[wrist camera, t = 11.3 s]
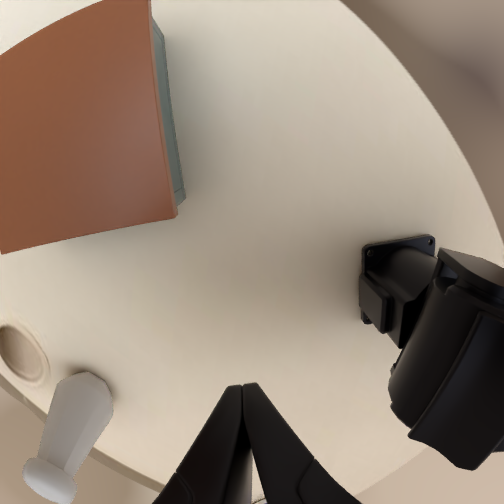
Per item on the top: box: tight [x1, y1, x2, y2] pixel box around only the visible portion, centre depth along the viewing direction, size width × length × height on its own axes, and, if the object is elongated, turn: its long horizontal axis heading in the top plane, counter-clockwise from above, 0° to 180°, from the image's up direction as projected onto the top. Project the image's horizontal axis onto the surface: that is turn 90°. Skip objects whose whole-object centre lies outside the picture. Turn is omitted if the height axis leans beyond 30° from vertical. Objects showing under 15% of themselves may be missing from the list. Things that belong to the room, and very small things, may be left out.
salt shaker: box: [22, 371, 113, 504], centre depth 17 cm, size 6×6×13 cm
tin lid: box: [0, 0, 178, 255], centre depth 11 cm, size 11×12×1 cm
